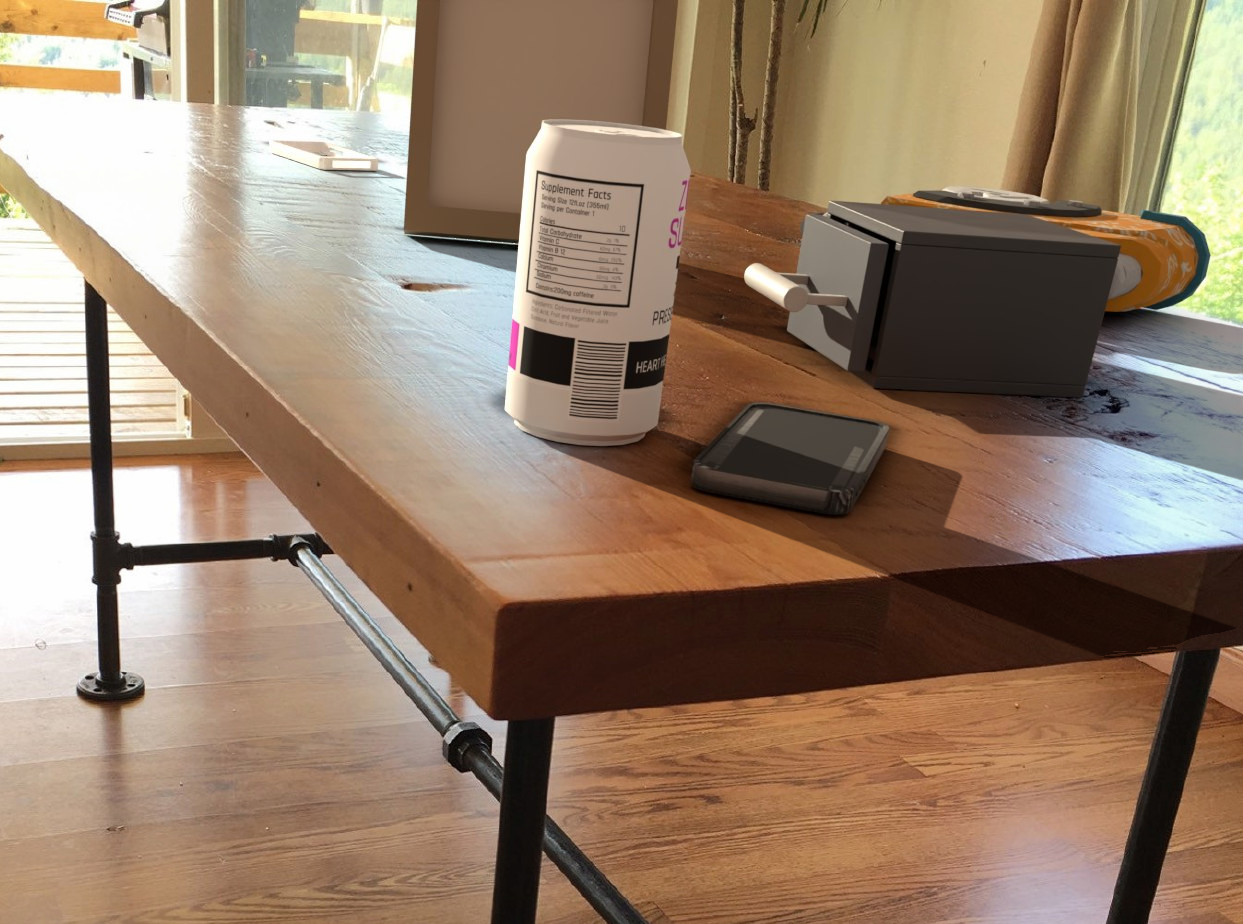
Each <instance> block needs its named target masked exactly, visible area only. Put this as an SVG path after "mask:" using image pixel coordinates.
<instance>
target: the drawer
mask: <svg viewBox="0 0 1243 924" xmlns="http://www.w3.org/2000/svg"><path fill="white" fill-rule="evenodd" d="M805 217H806V218H805ZM805 217H804V218H805V224H804V230H803V236H802V235H801V242H800V249H799V255H798V261H797V267H796V273H793V272H792V273H789V272H776V271H774V270H773V269H771V268H769V267H767V266H766V265H764V264H763V263H760V262H754V263H751V264H749V266H748V267H747V268H746V269H745V271H744V274H743V275H744V276H743V279H744V282H745V284H746V285H747V286H748V287H749V288H751V289H753V290H754V291H755V292H758V293H759V294H761V295H762V296H764V297H766V298H767V299H768V300H771V301H772V302H774V303H775V304H777V305H779V306H780V307H782V308H783V309H785V310H786V311H788V312H789V314H788V322H787V327H786V331H787V332H788V333H790V334H791V335H792V336H794V337H795V338H797V339H798V340H800V341H801V342H803V343H806V344H805V345H807V344H808V345H809V346H808V345H807V346H808V347H810V346H811V347H810V348H811V349H813V348H814V349H813V350H815V351H816V350H817V351H816V352H818V353H819V352H820V353H819V354H820V355H822V354H823V355H822V356H824V357H825V356H826V357H825V358H827V359H828V358H829V359H828V360H829V361H831V360H832V361H831V362H833V363H834V362H835V363H834V364H836V365H837V364H838V365H837V366H839V365H840V366H841V367H840V366H839V367H840V368H842V367H843V368H844V370H845V369H846V370H847V371H846V370H845V371H846V372H848V371H860V372H864V371H865V368H866V363H867V357H869V358H870V359H872V360H874V356H875V351H876V346H877V341H878V335H879V330H880V325H881V320H882V315H883V309H884V304H885V299H886V294H887V289H888V283H889V278H890V273H891V268H892V263H893V258H894V252H895V247H896V243H898V242H895V241H893V240H891V239H888V238H886V237H884V236H881V235H879V234H877V233H874V232H872V231H870V230H867V229H865V228H863V227H860V226H858V225H855V224H853V223H851V222H848V221H844V224H841V223H839V222H837V221H834V220H832V219H830V218H827V217H825V216H823V215H813V213H806V214H805ZM843 368H842V369H843Z"/></svg>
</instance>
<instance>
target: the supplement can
mask: <svg viewBox="0 0 1243 924" xmlns="http://www.w3.org/2000/svg"><path fill="white" fill-rule="evenodd" d="M691 173H692V170H691V166H690V164H689V161H688V157H687V155H686V152H685V149H684V146H683V135H682V133H679V132H676V131H673V130H669V129H668V130H667V129H666V130H663V129H658V128H651V127H644V126H637V125H629V124H620V123H611V122H599V121H586V120H543V121H542V127H541V130H540V131H539V133H538V135H537V136H536V138H535V140H534V142H533V143H532V145H531V147H530V148H529V150H528V152H527V154H526V165H525V177H524V188H523V200H522V212H521V224H520V235H519V244H518V247H517V248H518V249H517V258H516V259H517V260H516V272H515V283H514V295H513V307H512V317H511V318H512V319H511V329H510V330H511V331H510V342H509V355H508V365H507V376H506V388H505V402H504V411H505V412H506V413H507V414H508V415H509V416H510V417H512V418H513V420H514V421H513V422H514V425H515V426H516V427H517V428H519V429H520V430H521V431H522V432H525V433H527V434H529V435H532V436H534V437H537V438H541V439H545V440H548V441H553V442H556V443H563V444H569V445H576V446H591V447H593V446H594V447H609V446H610V447H611V446H624V445H628V444H633V443H637V442H639V441H640V440H642V439H644V437H646V433H648V432H649V431H651V430H652V429H654V428H655V427H657V426H658V424H659V418H660V417H659V416H660V410H661V402H662V396H663V395H662V392H663V386H664V378H665V371H666V364H667V363H666V362H667V356H668V348H669V341H670V333H671V325H672V317H673V309H674V302H675V294H676V287H677V281H678V273H679V272H678V271H679V264H680V256H681V249H682V241H683V235H684V234H683V233H684V226H685V218H686V211H687V205H688V204H687V203H688V196H689V187H690V180H691Z"/></svg>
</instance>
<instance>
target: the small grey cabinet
mask: <svg viewBox="0 0 1243 924" xmlns="http://www.w3.org/2000/svg"><path fill="white" fill-rule="evenodd" d="M826 212H828V213H827V216H826V217H827V218H830V219H832V220H834V221H837V222H839V223H841V224H844V221H848V222H851V223H853V224H855V225H858V226H860V227H863V228H865V229H867V230H870V231H872V232H874V233H877V234H879V235H881V236H884V237H886V238H888V239H891V240H893V241H895V242H898V243H896V247H895V252H894V258H893V263H892V268H891V273H890V278H889V283H888V289H887V294H886V299H885V304H884V309H883V315H882V320H881V325H880V330H879V335H878V341H877V346H876V351H875V356H874V360H872V359H870V358H869V357H867V363H866V368H865V371H864V372H860V371H847V370H846V369H844V368H843V367H841V366H840V365H838V364H836V363H835V362H833V361H832V360H830V359H829V358H827V357H826V356H824V355H823V354H821V353H820V352H818V351H817V350H815V349H814V348H812V347H811V346H809V345H808V344H806V343H805V342H804V343H805V345H807V346H808V347H810V348H812V349H813V350H815V351H816V352H818V353H819V354H821V355H822V356H824V357H825V358H827V359H828V360H830V361H831V362H833V363H834V364H836V365H837V366H839V367H840V368H842V369H844V370H845V371H846V372H848V373H849V374H851V375H852V376H854V377H855V378H857V379H858V380H860V381H862V383H865V384H866V385H868V386H869V387H871V388H872V389H874V388H880V389H879V390H894V389H902V390H901V391H920V392H939V393H940V392H941V393H965V394H985V395H988V394H989V395H1009V396H1010V395H1011V396H1032V397H1033V396H1034V397H1052V398H1054V397H1055V398H1074V399H1075V398H1077V399H1082V398H1083V397H1084V394H1085V389H1086V385H1087V382H1088V378H1089V374H1090V371H1091V366H1092V363H1093V359H1094V355H1095V351H1096V347H1097V344H1098V341H1099V335H1100V332H1101V327H1102V323H1103V321H1104V316H1105V312H1106V311H1105V309H1106V305H1107V301H1108V297H1109V293H1110V289H1111V285H1112V281H1113V277H1114V274H1115V270H1116V266H1117V262H1118V259H1117V258H1118V257H1119V253H1120V249H1121V245H1118V244H1115V243H1112V242H1109V241H1106V240H1103V239H1100V238H1097V237H1094V236H1091V235H1087V234H1084V233H1081V232H1078V231H1075V230H1072V229H1069V228H1066V227H1063V226H1060V225H1057V224H1054V223H1051V222H1048V221H1045V220H1042V219H1038V218H1035V217H1032V216H1029V215H1026V214H1015V213H1001V212H987V211H972V210H958V209H944V208H930V207H915V206H901V205H887V204H881V203H870V202H858V201H844V200H828V205H827V210H826Z"/></svg>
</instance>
